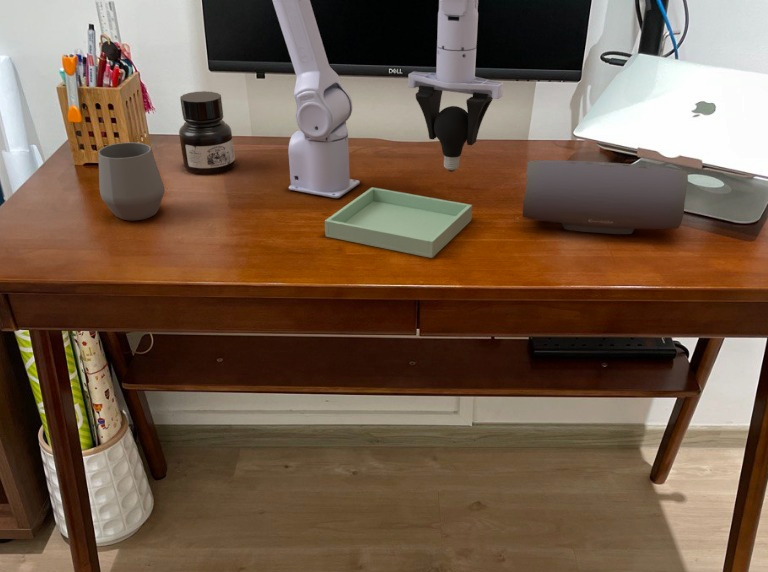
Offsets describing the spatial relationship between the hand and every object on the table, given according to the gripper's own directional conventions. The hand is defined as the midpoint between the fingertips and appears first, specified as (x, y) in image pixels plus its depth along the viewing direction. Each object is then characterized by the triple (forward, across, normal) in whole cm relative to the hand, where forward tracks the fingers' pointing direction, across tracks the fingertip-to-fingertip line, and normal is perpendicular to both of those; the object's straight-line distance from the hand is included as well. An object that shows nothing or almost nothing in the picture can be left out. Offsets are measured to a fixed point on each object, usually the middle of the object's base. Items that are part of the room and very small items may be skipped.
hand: (452, 140), depth 128 cm
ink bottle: (+10, +45, +3) cm, 46 cm away
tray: (+10, +3, +13) cm, 17 cm away
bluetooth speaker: (+10, -24, 0) cm, 26 cm away
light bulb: (+5, 0, 0) cm, 5 cm away
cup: (+10, +42, +26) cm, 50 cm away
